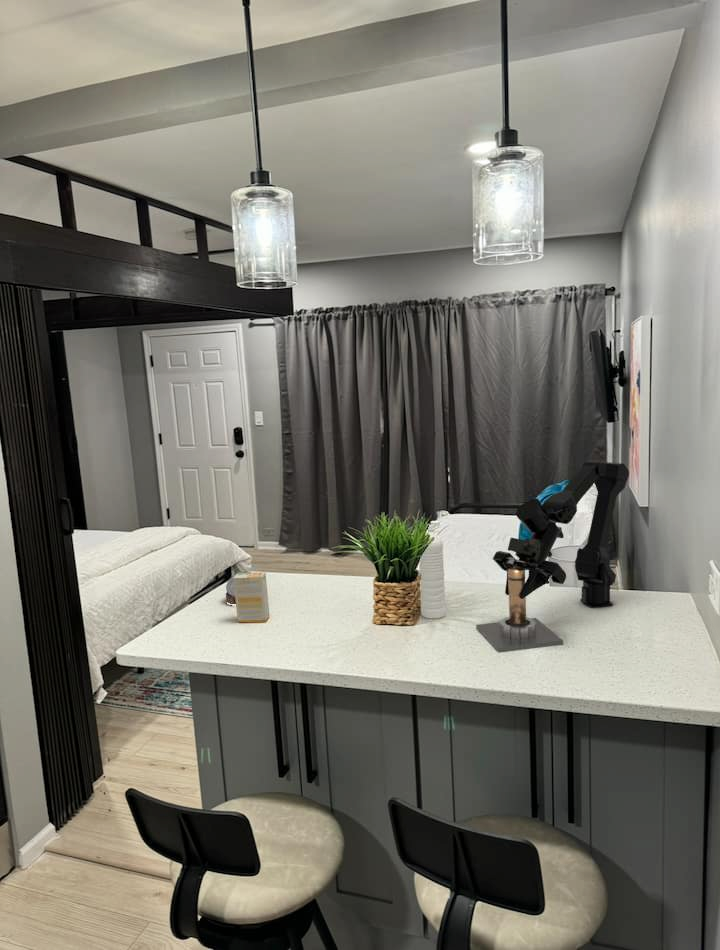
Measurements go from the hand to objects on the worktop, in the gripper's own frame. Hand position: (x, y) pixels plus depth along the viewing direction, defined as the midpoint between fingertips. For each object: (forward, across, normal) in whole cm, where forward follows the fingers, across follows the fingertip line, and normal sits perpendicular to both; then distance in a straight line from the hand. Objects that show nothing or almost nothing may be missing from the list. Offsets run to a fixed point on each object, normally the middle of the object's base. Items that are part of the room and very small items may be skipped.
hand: (513, 596), depth 169 cm
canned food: (+31, -77, -16) cm, 84 cm away
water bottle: (+8, -26, +7) cm, 29 cm away
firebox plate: (+6, 0, +8) cm, 11 cm away
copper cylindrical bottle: (+4, 0, +6) cm, 7 cm away
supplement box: (+35, -60, -20) cm, 72 cm away
